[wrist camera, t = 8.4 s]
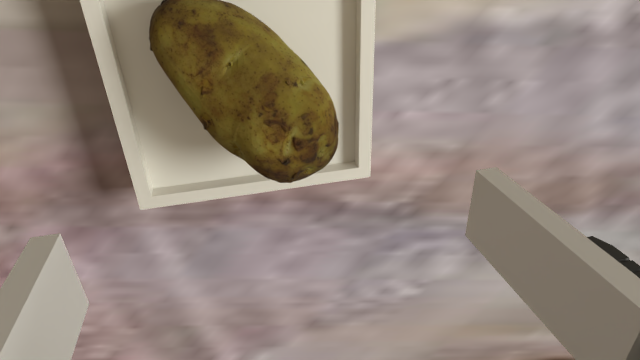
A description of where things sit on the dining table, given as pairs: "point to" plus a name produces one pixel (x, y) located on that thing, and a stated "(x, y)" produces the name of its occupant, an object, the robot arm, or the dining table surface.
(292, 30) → the rectangular tray
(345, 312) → the dining table surface
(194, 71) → the potato
